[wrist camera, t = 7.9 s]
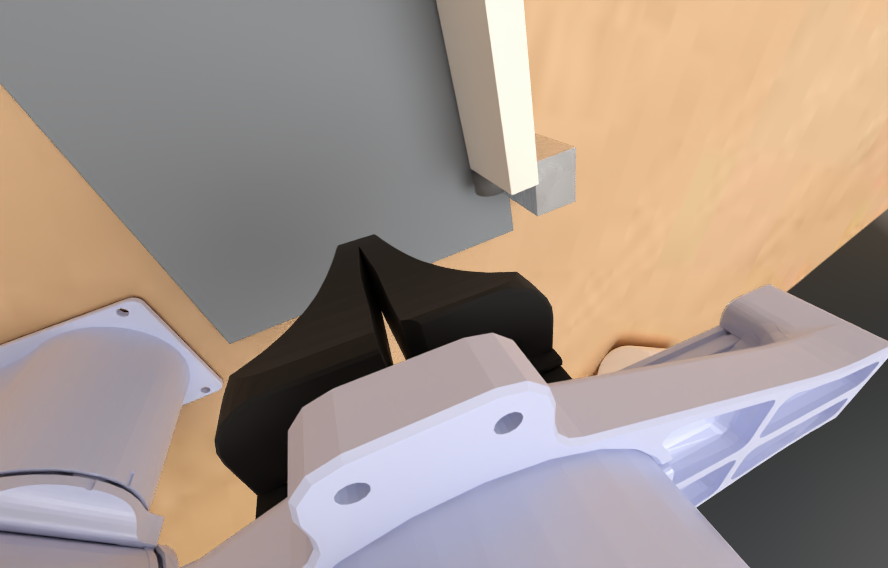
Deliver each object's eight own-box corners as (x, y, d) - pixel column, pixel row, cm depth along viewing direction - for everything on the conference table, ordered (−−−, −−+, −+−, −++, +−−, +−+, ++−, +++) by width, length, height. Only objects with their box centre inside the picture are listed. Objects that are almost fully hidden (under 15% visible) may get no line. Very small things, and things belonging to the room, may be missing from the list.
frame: (497, 194, 23) (555, 233, 18) (385, -134, 14) (440, -242, 9) (534, 172, 24) (602, 205, 18) (448, -168, 14) (539, -294, 9)
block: (499, 177, 22) (545, 205, 18) (470, 189, 22) (510, 220, 18) (460, -69, 15) (520, -112, 11) (418, -56, 15) (464, -96, 11)
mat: (230, 339, 22) (229, 343, 22) (-217, -176, 10) (-235, -183, 9) (510, 228, 25) (513, 230, 25) (448, -279, 13) (452, -288, 12)
